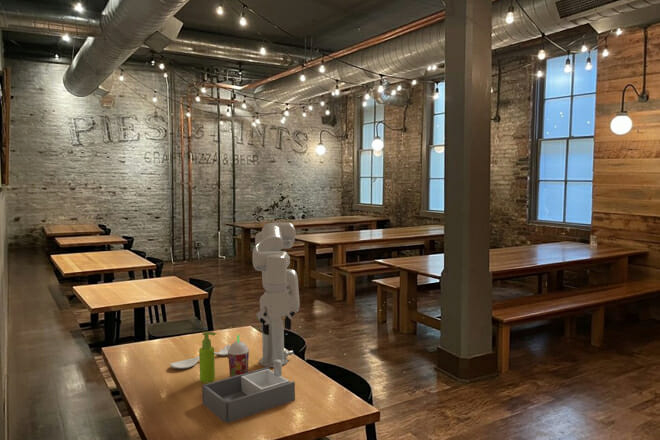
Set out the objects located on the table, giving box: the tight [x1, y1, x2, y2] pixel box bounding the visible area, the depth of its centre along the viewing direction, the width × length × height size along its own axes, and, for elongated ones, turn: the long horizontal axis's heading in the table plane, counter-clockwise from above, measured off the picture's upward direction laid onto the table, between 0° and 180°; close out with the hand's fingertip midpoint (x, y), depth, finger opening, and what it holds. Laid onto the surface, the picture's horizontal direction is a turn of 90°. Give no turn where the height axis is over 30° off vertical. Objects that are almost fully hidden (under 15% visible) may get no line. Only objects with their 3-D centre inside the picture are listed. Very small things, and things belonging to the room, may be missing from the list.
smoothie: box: [227, 334, 250, 378], centre depth 201 cm, size 8×8×20 cm
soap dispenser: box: [198, 331, 217, 384], centre depth 205 cm, size 6×7×20 cm
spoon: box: [170, 344, 231, 370], centre depth 227 cm, size 9×32×4 cm, turn 135°
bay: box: [201, 367, 296, 424], centre depth 185 cm, size 28×19×7 cm
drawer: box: [241, 360, 290, 395], centre depth 190 cm, size 13×15×11 cm
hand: (277, 331), depth 191 cm, fingers open, 9 cm apart
